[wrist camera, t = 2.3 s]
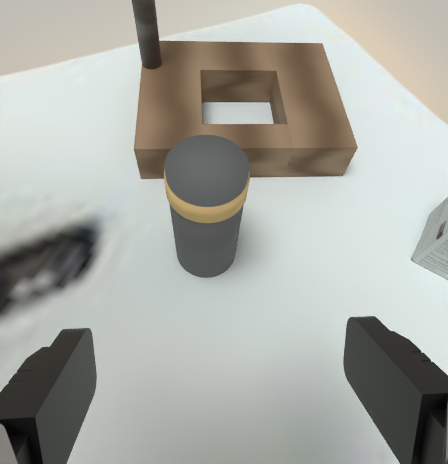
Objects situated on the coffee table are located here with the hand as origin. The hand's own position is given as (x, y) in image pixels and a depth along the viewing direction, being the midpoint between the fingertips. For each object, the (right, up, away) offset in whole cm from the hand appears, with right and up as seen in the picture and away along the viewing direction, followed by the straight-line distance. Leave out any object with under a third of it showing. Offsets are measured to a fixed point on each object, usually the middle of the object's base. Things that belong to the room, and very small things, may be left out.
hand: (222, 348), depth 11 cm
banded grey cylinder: (-1, +2, +19) cm, 19 cm away
